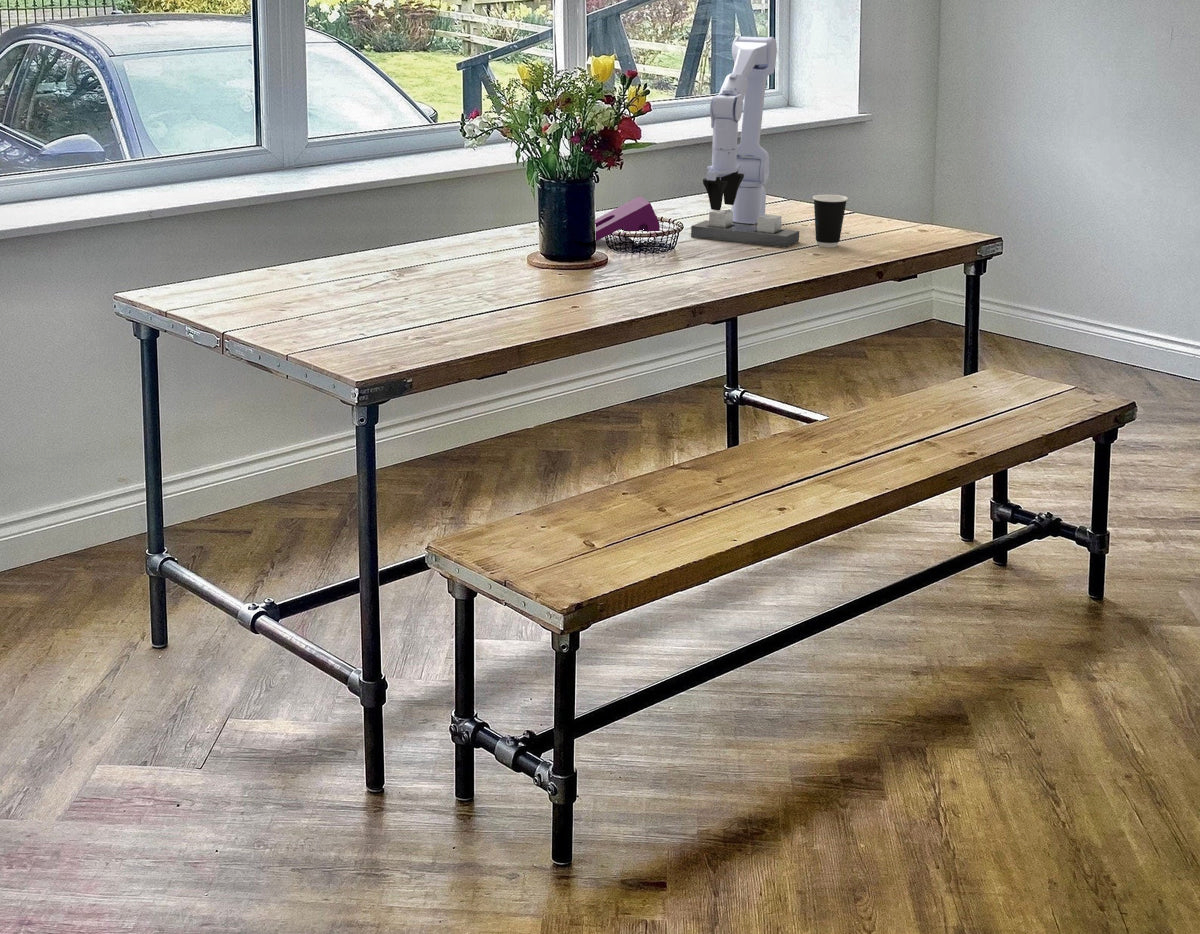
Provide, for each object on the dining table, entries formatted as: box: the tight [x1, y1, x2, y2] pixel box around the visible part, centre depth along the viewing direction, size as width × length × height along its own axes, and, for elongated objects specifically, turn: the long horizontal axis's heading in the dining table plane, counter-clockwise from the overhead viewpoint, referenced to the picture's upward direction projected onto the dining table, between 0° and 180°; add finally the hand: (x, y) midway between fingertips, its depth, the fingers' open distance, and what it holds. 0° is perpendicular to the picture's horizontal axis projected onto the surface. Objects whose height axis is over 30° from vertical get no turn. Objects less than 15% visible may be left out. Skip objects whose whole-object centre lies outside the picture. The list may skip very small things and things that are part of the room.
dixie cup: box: [812, 194, 849, 248], centre depth 329 cm, size 8×8×11 cm
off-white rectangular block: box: [756, 213, 782, 234], centre depth 332 cm, size 4×4×6 cm
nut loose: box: [708, 209, 734, 229], centre depth 338 cm, size 4×4×6 cm
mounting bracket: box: [594, 195, 661, 242], centre depth 333 cm, size 9×8×18 cm
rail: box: [690, 219, 800, 248], centre depth 336 cm, size 8×24×3 cm, turn 61°
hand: (722, 207), depth 336 cm, fingers open, 7 cm apart
